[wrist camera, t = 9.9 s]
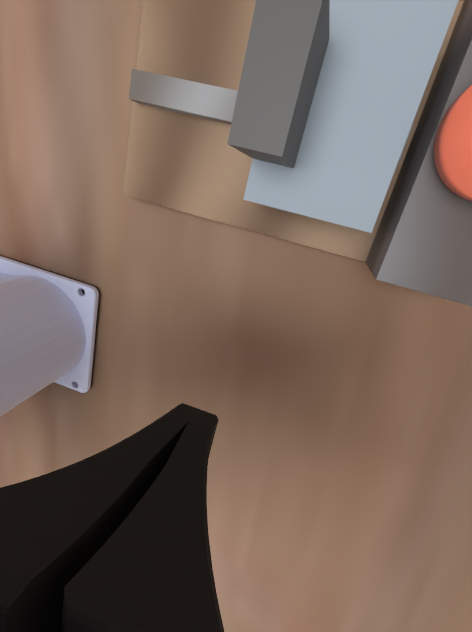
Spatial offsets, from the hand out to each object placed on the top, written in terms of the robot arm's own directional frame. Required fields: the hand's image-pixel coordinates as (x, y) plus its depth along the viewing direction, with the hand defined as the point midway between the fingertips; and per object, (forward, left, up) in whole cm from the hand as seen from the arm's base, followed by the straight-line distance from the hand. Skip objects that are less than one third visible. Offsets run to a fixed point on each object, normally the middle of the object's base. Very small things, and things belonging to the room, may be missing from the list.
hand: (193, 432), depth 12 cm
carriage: (+1, +11, -7) cm, 13 cm away
